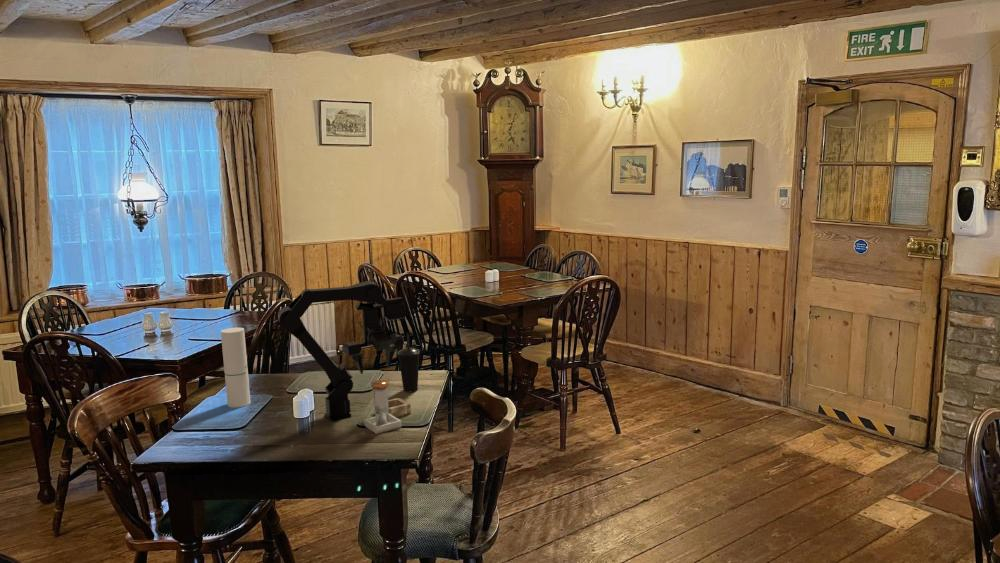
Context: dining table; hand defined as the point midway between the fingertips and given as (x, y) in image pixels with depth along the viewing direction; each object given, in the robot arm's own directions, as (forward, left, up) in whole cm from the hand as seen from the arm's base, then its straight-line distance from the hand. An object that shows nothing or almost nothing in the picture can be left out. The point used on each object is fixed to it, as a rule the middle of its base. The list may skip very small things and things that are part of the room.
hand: (375, 370), depth 223 cm
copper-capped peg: (-5, -14, -12) cm, 19 cm away
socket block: (+3, -5, -13) cm, 14 cm away
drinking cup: (+18, +11, -13) cm, 25 cm away
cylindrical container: (-33, +35, -13) cm, 50 cm away
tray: (-5, -14, -13) cm, 20 cm away
